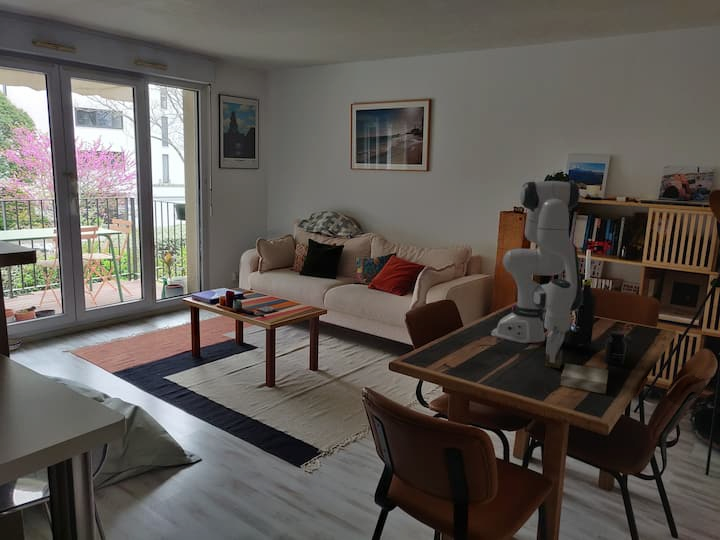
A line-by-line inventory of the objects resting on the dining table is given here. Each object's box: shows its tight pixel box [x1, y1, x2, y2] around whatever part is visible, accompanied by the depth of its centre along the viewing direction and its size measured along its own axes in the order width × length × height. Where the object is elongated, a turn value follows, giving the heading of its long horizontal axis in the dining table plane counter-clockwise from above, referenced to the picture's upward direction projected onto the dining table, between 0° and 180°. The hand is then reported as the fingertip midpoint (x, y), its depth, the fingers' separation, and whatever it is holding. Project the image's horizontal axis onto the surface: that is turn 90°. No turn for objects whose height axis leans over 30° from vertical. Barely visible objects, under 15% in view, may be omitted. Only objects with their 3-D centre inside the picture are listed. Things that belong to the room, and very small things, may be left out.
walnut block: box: [544, 348, 563, 370], centre depth 204 cm, size 5×5×6 cm
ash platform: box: [559, 362, 609, 395], centre depth 188 cm, size 14×14×4 cm
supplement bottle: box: [603, 330, 627, 366], centre depth 208 cm, size 7×7×12 cm
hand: (553, 359), depth 204 cm, fingers closed on walnut block, 5 cm apart
